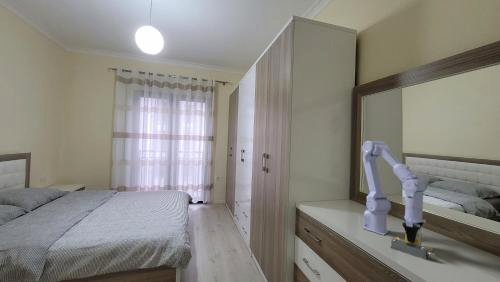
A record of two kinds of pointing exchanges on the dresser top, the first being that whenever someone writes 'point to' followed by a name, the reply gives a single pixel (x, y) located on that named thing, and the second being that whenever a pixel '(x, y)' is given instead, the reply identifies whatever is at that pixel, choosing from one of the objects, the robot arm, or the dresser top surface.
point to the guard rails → (426, 247)
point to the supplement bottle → (418, 237)
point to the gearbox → (411, 249)
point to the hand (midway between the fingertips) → (412, 239)
